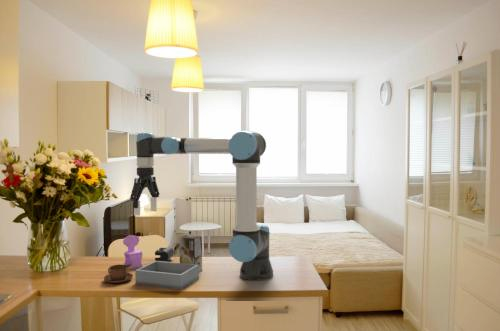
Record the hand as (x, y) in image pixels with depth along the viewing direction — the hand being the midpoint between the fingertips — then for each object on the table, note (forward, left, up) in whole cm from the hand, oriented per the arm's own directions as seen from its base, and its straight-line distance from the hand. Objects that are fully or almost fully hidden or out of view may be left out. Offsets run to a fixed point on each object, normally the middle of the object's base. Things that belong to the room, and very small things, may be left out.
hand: (145, 213), depth 191 cm
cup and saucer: (+6, +13, -28) cm, 32 cm away
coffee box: (-17, -11, -28) cm, 35 cm away
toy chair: (+13, -8, -28) cm, 32 cm away
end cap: (+3, -21, -28) cm, 36 cm away
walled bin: (-15, +7, -28) cm, 33 cm away
